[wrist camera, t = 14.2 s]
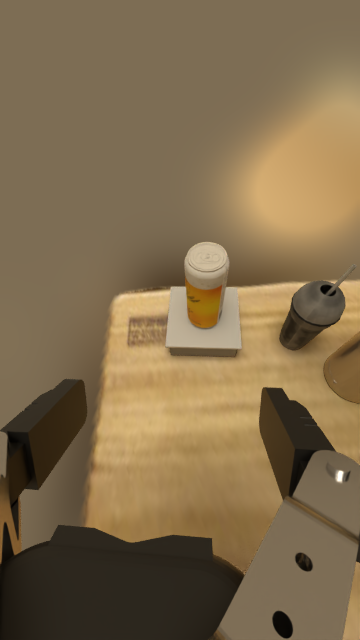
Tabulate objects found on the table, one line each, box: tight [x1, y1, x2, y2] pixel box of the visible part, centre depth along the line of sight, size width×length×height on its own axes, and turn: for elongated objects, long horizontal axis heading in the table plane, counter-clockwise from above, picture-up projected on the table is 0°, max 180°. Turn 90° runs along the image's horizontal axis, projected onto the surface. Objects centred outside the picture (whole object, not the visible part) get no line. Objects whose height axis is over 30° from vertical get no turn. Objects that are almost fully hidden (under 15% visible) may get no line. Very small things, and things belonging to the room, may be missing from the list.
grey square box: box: [165, 287, 242, 357], centre depth 48 cm, size 13×13×5 cm
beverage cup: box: [279, 264, 356, 350], centre depth 39 cm, size 7×7×20 cm
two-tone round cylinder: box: [184, 242, 229, 328], centre depth 39 cm, size 6×6×15 cm
